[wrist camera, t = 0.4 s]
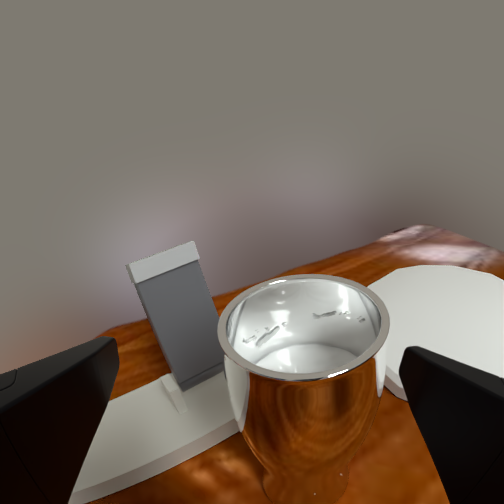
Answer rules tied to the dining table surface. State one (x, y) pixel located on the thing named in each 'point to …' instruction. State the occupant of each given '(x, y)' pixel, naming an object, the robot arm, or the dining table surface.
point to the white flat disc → (443, 317)
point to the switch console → (153, 434)
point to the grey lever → (180, 312)
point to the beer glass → (304, 379)
